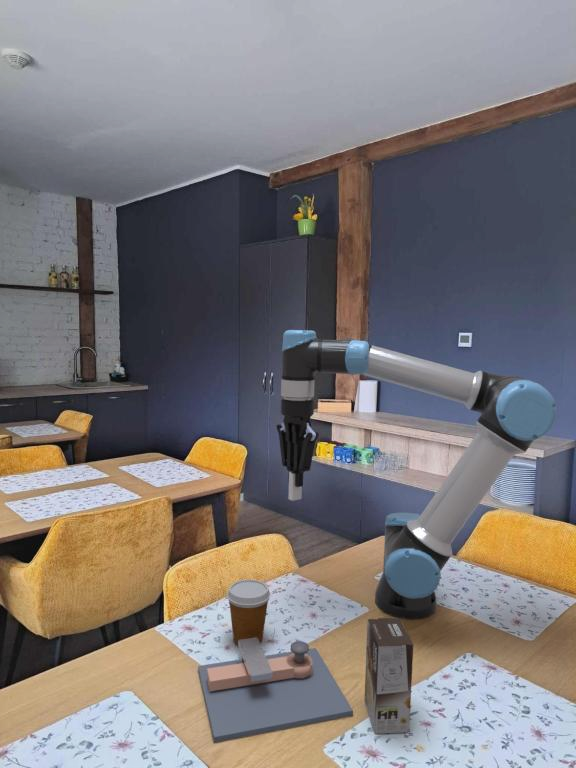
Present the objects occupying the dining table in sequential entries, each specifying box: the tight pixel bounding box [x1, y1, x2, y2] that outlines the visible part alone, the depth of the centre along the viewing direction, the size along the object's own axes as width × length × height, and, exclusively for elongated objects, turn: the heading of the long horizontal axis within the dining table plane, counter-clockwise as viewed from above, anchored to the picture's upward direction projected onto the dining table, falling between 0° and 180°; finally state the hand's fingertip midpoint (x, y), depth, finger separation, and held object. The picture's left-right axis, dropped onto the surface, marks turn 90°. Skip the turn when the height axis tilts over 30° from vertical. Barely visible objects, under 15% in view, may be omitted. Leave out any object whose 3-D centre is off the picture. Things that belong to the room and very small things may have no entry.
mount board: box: [197, 647, 354, 744], centre depth 105 cm, size 25×20×1 cm
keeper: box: [237, 637, 273, 682], centre depth 107 cm, size 4×12×6 cm, turn 17°
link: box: [207, 640, 312, 691], centre depth 107 cm, size 21×5×5 cm, turn 106°
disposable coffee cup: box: [226, 579, 272, 647], centre depth 121 cm, size 10×10×12 cm
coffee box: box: [364, 617, 414, 735], centre depth 99 cm, size 9×6×16 cm
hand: (295, 498), depth 128 cm, fingers closed
